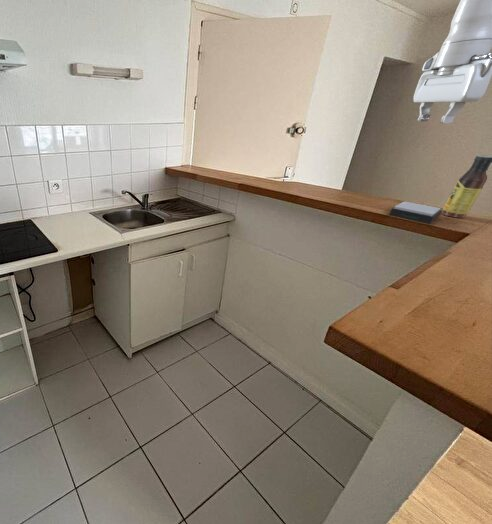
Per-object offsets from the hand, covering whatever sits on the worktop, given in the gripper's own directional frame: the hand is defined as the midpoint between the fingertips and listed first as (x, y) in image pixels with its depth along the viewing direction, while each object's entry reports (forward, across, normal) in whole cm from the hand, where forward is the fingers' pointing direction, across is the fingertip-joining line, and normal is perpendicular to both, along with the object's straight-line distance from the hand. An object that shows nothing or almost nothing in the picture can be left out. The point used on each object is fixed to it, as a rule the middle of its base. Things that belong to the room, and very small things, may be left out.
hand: (433, 122), depth 74 cm
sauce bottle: (+31, +18, -28) cm, 45 cm away
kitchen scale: (+30, +14, -14) cm, 36 cm away
